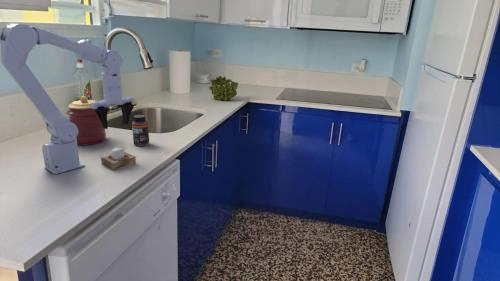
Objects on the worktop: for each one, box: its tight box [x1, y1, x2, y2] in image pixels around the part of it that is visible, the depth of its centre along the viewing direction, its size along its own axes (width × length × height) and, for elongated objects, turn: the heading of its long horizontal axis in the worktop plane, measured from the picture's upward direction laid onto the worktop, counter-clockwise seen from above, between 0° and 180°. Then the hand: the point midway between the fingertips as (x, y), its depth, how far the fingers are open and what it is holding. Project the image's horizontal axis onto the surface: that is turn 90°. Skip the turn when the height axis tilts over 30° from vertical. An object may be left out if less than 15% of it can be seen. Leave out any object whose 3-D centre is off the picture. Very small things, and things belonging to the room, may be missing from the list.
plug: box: [110, 147, 125, 161], centre depth 113 cm, size 4×4×5 cm
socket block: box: [100, 151, 137, 171], centre depth 113 cm, size 8×8×3 cm
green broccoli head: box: [209, 75, 239, 101], centre depth 217 cm, size 18×16×16 cm
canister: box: [66, 95, 107, 146], centre depth 132 cm, size 13×13×18 cm
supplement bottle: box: [131, 114, 150, 147], centre depth 131 cm, size 6×6×11 cm
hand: (115, 126), depth 118 cm, fingers open, 7 cm apart
